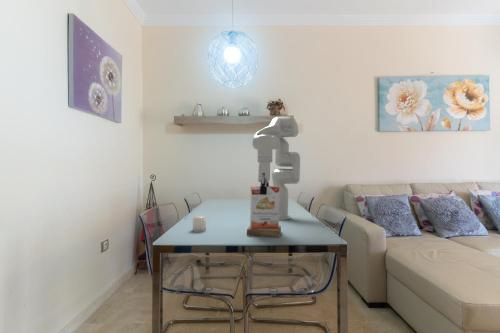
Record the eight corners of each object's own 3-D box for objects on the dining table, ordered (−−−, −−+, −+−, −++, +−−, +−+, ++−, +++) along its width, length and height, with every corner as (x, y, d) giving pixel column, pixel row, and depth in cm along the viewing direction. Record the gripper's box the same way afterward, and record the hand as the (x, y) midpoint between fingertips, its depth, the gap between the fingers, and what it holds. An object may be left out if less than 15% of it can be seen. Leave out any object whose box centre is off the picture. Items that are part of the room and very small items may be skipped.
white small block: (195, 228, 164) (195, 215, 164) (207, 228, 163) (207, 215, 163) (190, 231, 157) (190, 217, 157) (203, 231, 156) (203, 218, 156)
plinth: (250, 230, 160) (250, 224, 160) (280, 231, 157) (281, 225, 157) (246, 235, 149) (246, 229, 149) (279, 237, 146) (279, 230, 146)
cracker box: (251, 228, 150) (251, 186, 149) (250, 226, 156) (250, 185, 155) (279, 228, 151) (279, 186, 150) (276, 225, 157) (277, 185, 156)
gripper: (260, 159, 161) (259, 191, 162) (254, 159, 144) (254, 195, 145) (274, 159, 160) (273, 191, 160) (270, 159, 143) (270, 195, 143)
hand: (264, 193), depth 153 cm, fingers open, 9 cm apart
